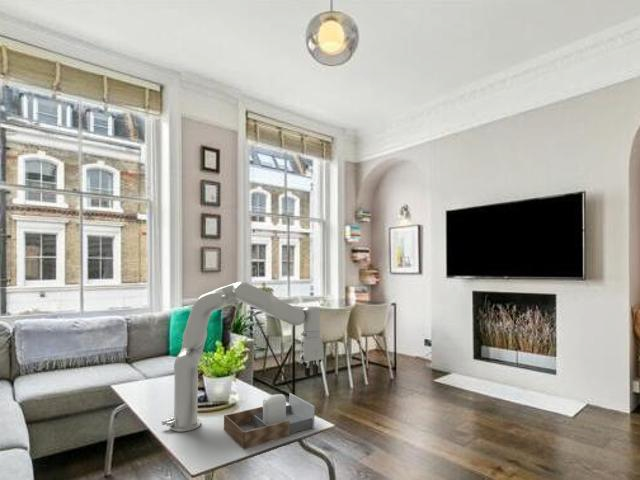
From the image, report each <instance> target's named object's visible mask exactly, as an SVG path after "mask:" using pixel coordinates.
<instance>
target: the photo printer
mask: <svg viewBox="0 0 640 480" xmlns="http://www.w3.org/2000/svg"><path fill="white" fill-rule="evenodd" d="M286 406H287V399H286V396H285V395H284V394H280V393H279V394H272V395H269V396H267V397H266V398H264V399H263V402H262V407H263V421H264V422H265V423H266V424H268V425H273V424H277V423H281V422H284V421H286Z"/></svg>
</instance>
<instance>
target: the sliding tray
mask: <svg viewBox="0 0 640 480" xmlns="http://www.w3.org/2000/svg"><path fill="white" fill-rule="evenodd" d="M288 396H289V397H288V405H287V404H286V421H288V420H289V421H290V435H291V434H294V433H298V432H301V431H305V430H308V429H315V415H316V414H315V411H316V410H315V409H316V408H315V405H313V404H311V403H309V402H308V401H306V400H304V399H302V398H300V397H299V396H296V395H295V394H293V393H291V392H289V395H288ZM251 425H253V426H255V427H256V429H258V428H261V427H265V426H269V425H268V424H266V423H265V422H264V421H263V411H262V412H258V413H253V414H252V424H251Z"/></svg>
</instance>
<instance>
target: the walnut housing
mask: <svg viewBox="0 0 640 480" xmlns="http://www.w3.org/2000/svg"><path fill="white" fill-rule="evenodd" d="M262 411H263V406H258V407H255V408H249V409H246V410H241V411H237V412H233V413H228V414H224V415H223V431H225V433H226V434H227V435H228V436H229V437H231V438H232V439H233V441H235V442H236V443H237V444H238V445H239V447H241V448H242V449H243V450H245V449H249V448H252V447H256V446H259V445H262V444H266V443H270V442H273V441H276V440H279V439H283V438H286V437H290V435H291V434H290V421H289V420H288V421H284V422H281V423H277V424H273V425H269V426H265V427H261V428H253V429H251V430H248V431H245V430H243V429H242V428H241V427H243V426H248V425H253V424H252V414H253V413H258V412H262Z"/></svg>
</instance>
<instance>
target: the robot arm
mask: <svg viewBox="0 0 640 480" xmlns="http://www.w3.org/2000/svg"><path fill="white" fill-rule="evenodd" d="M237 302H240V303H243V304H246V305H248V306H249V307H252V308H255V309H257V310H259V311H261V312H263V313H265V314H267V315H270V316H271V317H274V318H276V319H278V320H280V321H282V322H285V323H287V324H289V325H292V326H296V327H297V326H300V325H302V324H303V327H302V328H303V330H302V332H301V334H300V335H301V337H302V338H301V342H300V349H299V350H300V352H299V355H300V356H299V358H298V360H297V362H298V363H300V364H301V365H302V366H303V367H304V376H306V377H308V378H310V377H311V368H310V362H312V361H313V365H312V374H313V375H314V376H318V375H319V374H318V373H319V366H320V363H321V362H322V361H323V360H324V359H325V356H324V344H323V342H324V341H323V338H322V336H321V309H320V307H318V306H298V305H291V304H289V303H286V302H284V300H283V301H282V300H281V299H279V298H277V297H276V296H275V295H274V294H272V293H270V292H268V291H266V290H264V289H260V288H259V287H256V286H255V285H253V284H250V283H249V282H247V281H244V280H242V281H241V280H240V281H237V282H235V283H231V284H229V285H226V286H223V287H219V288H215V289H214V290H212V291H209V292H207V293H205V294H202V295H200V296H199V297H198V298H196V300H195V301H194V303H193V304H192V307H191V310H190V313H189V316H188V319H187V322H186V325H185V329H184V331H183V334H182V344H181V349H180V351H179V353H178V354H177V356H176V358H175V359H174V362H173V376H174V390H173V391H174V394H173V395H174V396H173V397H174V398H173V399H174V400H173V402H174V403H173V414H172V415H171V417H169V418H168V419H162V420H161V425H162V426H165V425H166V427H168V426H169V429H170V430H172V431H174V432H180V433H181V432H183V433H184V432H188V431H194V430H195V429H198V428H200V426H201V425H202V420H201V419H200V418H198V401H199V400H198V399H199V398H198V393H199V391H198V389H199V387H198V386H199V375H198V373H199V371H198V370H199V369H198V368H199V364H200V361H201V360H202V359H201V358H202V355H203V351H204V348H205V344H206V340H207V337H208V331H207V328H208V325H209V323H210V317H211V315H212V314H213V312H215V311H218V310H219V311H220V310H221V309H223V308H224V307H225V306H228V305H231V304H234V303H237Z"/></svg>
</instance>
